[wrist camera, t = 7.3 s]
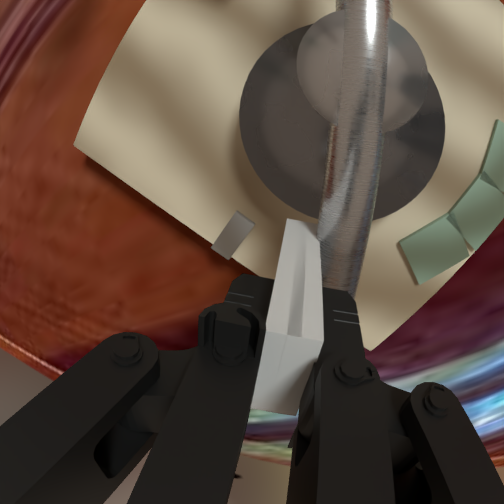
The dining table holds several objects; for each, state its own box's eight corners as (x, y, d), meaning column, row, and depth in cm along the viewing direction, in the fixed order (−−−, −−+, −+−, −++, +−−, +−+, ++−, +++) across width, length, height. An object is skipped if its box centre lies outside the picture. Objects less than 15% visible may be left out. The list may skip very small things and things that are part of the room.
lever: (260, -81, 9) (230, -150, 3) (429, -58, 8) (472, -113, 2) (240, 281, 19) (206, 360, 13) (393, 300, 17) (416, 384, 11)
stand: (273, -117, 9) (259, -161, 4) (558, 100, 11) (609, 109, 6) (91, 141, 19) (36, 157, 14) (366, 333, 21) (374, 389, 16)
